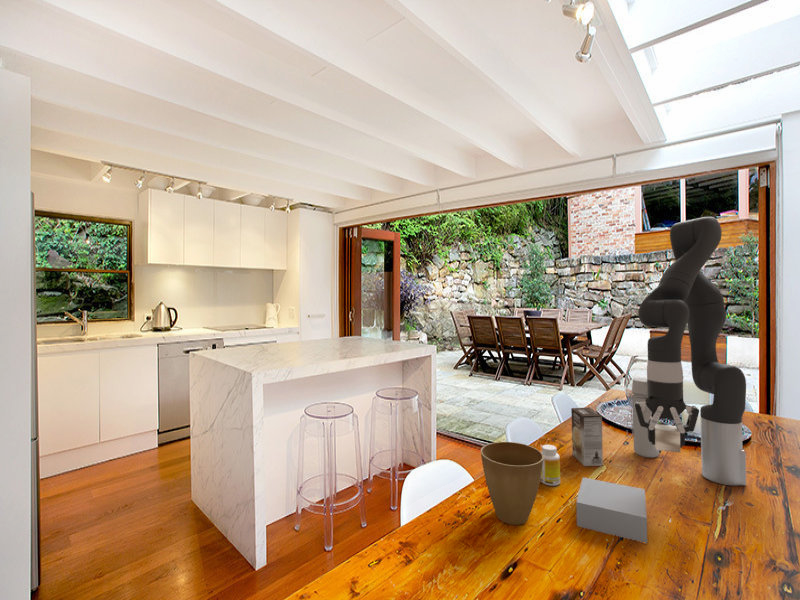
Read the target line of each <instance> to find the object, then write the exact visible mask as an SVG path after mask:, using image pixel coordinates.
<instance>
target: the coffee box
mask: <svg viewBox="0 0 800 600" xmlns="http://www.w3.org/2000/svg"><path fill="white" fill-rule="evenodd" d="M570 410H571V412H570V413H571V439H572V440H571V441H572V442H571V444H572V445H571V446H572V450H571V451H572V455H573V457H574V458H576V459H577V461H578V462H580V464H582V465H583V467H598V466H599V467H600V466H601V467H602V466H603V465H604V459H603V458H604V457H603V456H604V455H603V453H604V451H603V450H604V449H603V416H602V414H600V413H599V412H597V411H596V410H594V409H593V408H591V407H573V408H571V409H570Z"/></svg>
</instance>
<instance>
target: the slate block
mask: <svg viewBox="0 0 800 600" xmlns="http://www.w3.org/2000/svg"><path fill="white" fill-rule="evenodd" d="M646 502H647V501H646V490H645V488H641V487H634V486H631V485H630V486H629V485H626V484H625V485H624V484H619V483H615V482H608V481H605V480H604V481H603V480H599V479H594V478H588V477H582V479H581V482H580V486H579V490H578V494H577V498H576V503H575V504H576V527H579V528H580V527H581V528H584V529H588V530H591V531H596V532H599V533H603V534H606V535H611V534H612V535H611V536H615V535H616V537H618V536H619V538H622V537H623V538H624V539H626V538H627V540H630V539H632V540H631V541H634V540H637V541H636V542H638V541H641V542H640V543H642V542H645V543H644V544H646V543H647V544H648V521H647V520H648V518H647V503H646Z"/></svg>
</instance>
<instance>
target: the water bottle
mask: <svg viewBox="0 0 800 600" xmlns="http://www.w3.org/2000/svg"><path fill="white" fill-rule="evenodd" d="M628 395H629V403H628V404H629V405H628V407H631V402H632V409H630V411H627V417H629V415H630V414H631V415H630V417H631V421H632V424H631V435H630V436H629V434H628V433H629V432H628V431H626V434H627V435H626V436H627V438H632V437H633V451H634V452H635V454H636V455H638V456H640V457H644V458H651V459H652V458H653V459H654V458H657V457H658V456H659V455H660V450H656V448H655V446H654V445H652V443H651V442H649V439H648V429H647V428H646V427H642V426H641V425H640V423H639V420H638V417H637V413H636V410H635V406H634V402H645V401H646V399H647V377H634V378H632V383H631V392H629V393H628ZM631 399H632V400H631ZM629 413H630V414H629ZM651 413H652V412H651V411H650V409H649V408H648V407H647V406H645V408H644V411H642V414H643V417H644V420H645V421H646V422H648V421H649V419H650V415H651ZM626 422H627V423H626V427H628V426H629V425H628V423H629V420H627V421H626ZM656 424H659V421H658V422H657V423H656Z"/></svg>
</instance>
